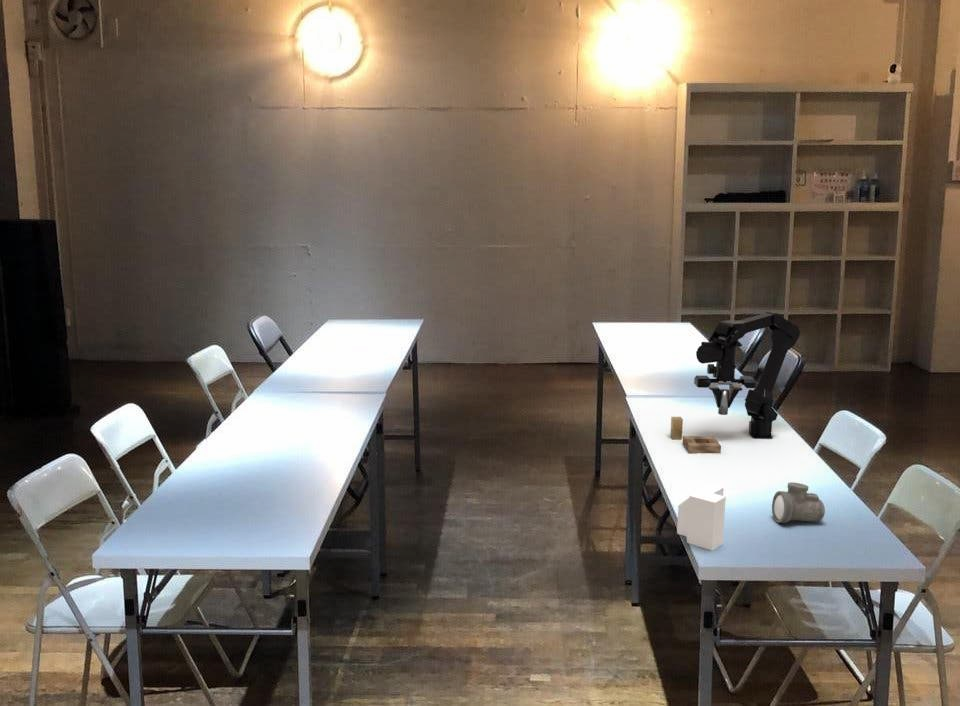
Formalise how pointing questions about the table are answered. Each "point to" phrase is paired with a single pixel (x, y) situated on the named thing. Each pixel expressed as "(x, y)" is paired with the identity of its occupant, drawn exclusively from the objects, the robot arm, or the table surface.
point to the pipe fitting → (797, 505)
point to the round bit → (723, 402)
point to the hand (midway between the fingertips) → (723, 407)
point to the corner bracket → (703, 517)
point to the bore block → (701, 444)
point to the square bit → (676, 428)
